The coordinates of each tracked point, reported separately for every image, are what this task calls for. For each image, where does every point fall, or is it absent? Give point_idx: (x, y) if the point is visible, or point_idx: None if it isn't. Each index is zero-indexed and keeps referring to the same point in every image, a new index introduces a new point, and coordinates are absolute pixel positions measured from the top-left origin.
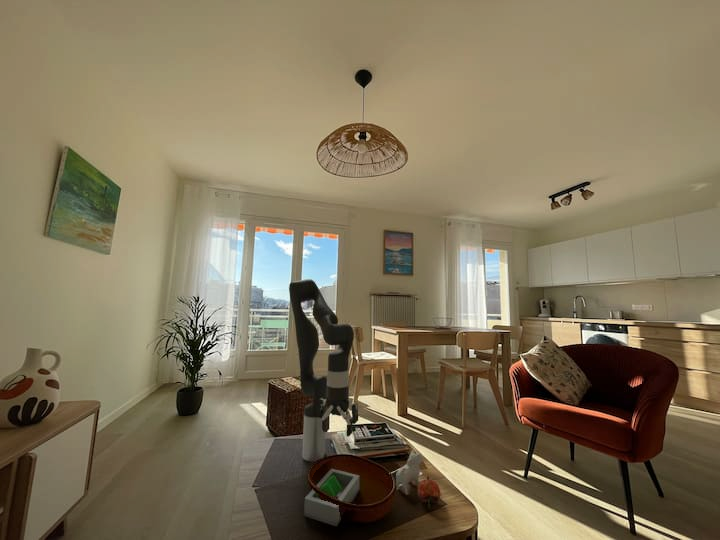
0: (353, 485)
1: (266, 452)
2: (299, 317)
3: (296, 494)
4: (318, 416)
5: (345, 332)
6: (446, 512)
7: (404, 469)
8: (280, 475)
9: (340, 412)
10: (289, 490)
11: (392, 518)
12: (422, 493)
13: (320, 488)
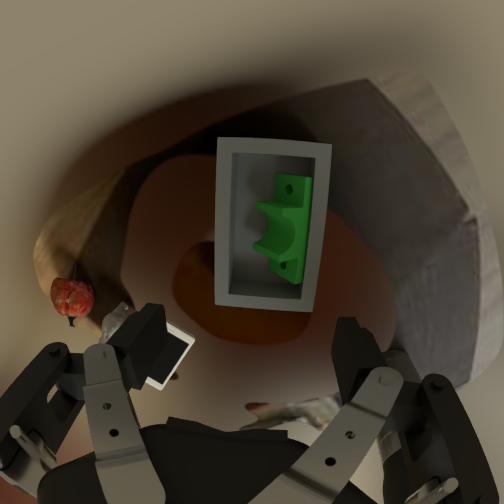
0: (215, 258)
1: (479, 337)
2: None
3: (379, 219)
4: (436, 380)
5: None
6: (58, 270)
7: (108, 337)
8: (439, 277)
9: (133, 440)
10: (401, 229)
11: (121, 217)
12: (72, 282)
13: (307, 208)
